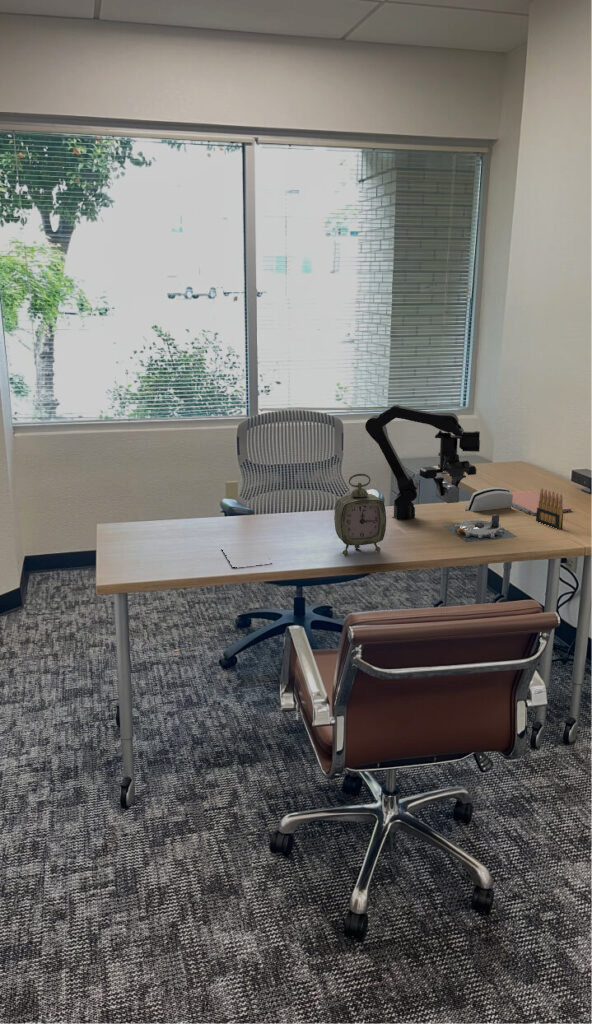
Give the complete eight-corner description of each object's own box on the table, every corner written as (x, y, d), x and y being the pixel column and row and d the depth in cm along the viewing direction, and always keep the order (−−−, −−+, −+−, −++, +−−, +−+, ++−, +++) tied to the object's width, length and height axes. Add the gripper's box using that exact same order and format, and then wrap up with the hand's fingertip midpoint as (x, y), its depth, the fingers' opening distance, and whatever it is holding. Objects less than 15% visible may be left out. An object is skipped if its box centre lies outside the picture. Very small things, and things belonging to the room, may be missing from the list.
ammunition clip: (562, 528, 253) (565, 494, 249) (558, 529, 252) (561, 495, 249) (539, 520, 262) (542, 487, 259) (535, 521, 261) (538, 487, 258)
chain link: (447, 503, 255) (448, 488, 253) (435, 495, 264) (436, 481, 263) (458, 502, 256) (459, 487, 254) (446, 495, 265) (446, 480, 263)
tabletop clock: (341, 558, 230) (340, 478, 223) (333, 548, 239) (332, 471, 232) (385, 553, 234) (386, 475, 226) (376, 544, 242) (376, 468, 235)
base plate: (466, 545, 239) (466, 542, 239) (442, 528, 256) (442, 525, 255) (517, 539, 243) (517, 536, 243) (490, 523, 260) (491, 521, 259)
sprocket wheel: (454, 537, 243) (455, 520, 242) (454, 522, 258) (455, 507, 256) (505, 539, 240) (506, 522, 238) (502, 524, 255) (503, 508, 253)
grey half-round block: (504, 505, 280) (510, 483, 275) (510, 513, 277) (517, 490, 271) (463, 510, 276) (469, 487, 270) (469, 517, 272) (475, 495, 267)
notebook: (491, 498, 292) (492, 493, 292) (529, 494, 297) (530, 489, 296) (531, 517, 267) (531, 512, 267) (572, 513, 272) (572, 507, 271)
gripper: (432, 457, 245) (431, 503, 250) (485, 453, 250) (482, 498, 254) (419, 451, 256) (418, 495, 260) (469, 447, 260) (468, 490, 264)
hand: (447, 495), depth 259 cm, fingers closed on chain link, 4 cm apart
